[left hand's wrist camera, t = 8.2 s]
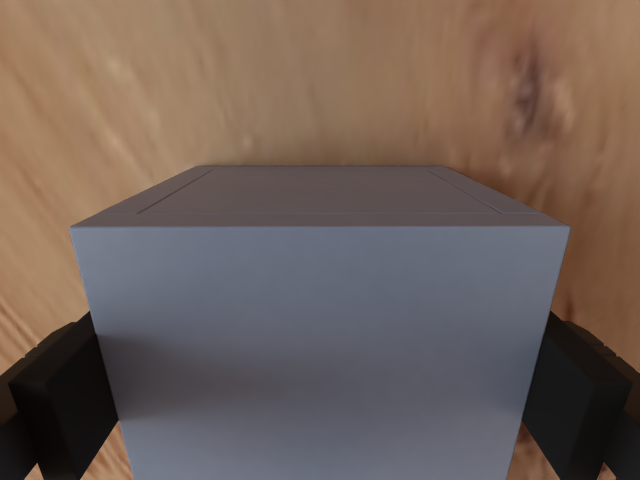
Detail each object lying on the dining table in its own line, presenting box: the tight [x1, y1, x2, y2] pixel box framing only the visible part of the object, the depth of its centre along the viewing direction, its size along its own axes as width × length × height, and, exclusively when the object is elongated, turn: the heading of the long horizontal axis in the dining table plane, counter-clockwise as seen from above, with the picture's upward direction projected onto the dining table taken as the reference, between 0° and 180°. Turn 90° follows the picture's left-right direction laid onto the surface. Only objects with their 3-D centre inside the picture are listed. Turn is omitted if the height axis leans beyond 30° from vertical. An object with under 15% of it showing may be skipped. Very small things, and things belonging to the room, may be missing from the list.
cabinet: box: [69, 166, 571, 480], centre depth 14 cm, size 18×11×8 cm, turn 0°
